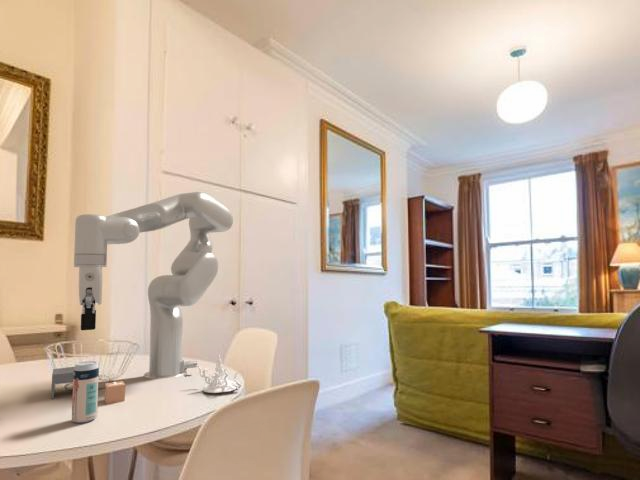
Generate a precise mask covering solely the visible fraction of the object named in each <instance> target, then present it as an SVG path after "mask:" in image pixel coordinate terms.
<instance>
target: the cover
mask: <svg viewBox="0 0 640 480" xmlns="http://www.w3.org/2000/svg"><path fill="white" fill-rule="evenodd" d="M74 368H75V366H70V367H69V366H67V367H60V368H54V369H52V374H51V394H50V399H51V400H53V399H55V398H54V397H55V391H56V390H55V389H56V385H60V384H61V385H62V384H69V383H73V373H74Z"/></svg>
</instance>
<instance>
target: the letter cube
mask: <svg viewBox="0 0 640 480" xmlns="http://www.w3.org/2000/svg"><path fill="white" fill-rule="evenodd" d="M104 388H105V389H104V401H105V403H106V404H107V405H108V404H109V405H110V404H114V403H120V402H121V403H122V402H126V401H125V400H126V399H125V398H126V396H125V395H126V383H125V382H124V380H120V381H113V382H106V383H104Z"/></svg>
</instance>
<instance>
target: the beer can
mask: <svg viewBox="0 0 640 480" xmlns="http://www.w3.org/2000/svg"><path fill="white" fill-rule="evenodd" d="M74 367H75V368H74V373H73V382H72V401H71V421H72V422H74V423H76V424H86V423H88V422H89V423H90V422H92V421H94V419H96V418H97V417H98V407H99V405H98V402H99V399H98V398H99V375H100V372H99V371H100V370H99V369H100V366H99V365H98V362H97V361H89V360H88V361H82V362H78V363H76V364H75V365H74Z"/></svg>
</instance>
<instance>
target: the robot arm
mask: <svg viewBox="0 0 640 480" xmlns="http://www.w3.org/2000/svg"><path fill="white" fill-rule="evenodd" d="M233 217H234V216H233V214H232V212H231V211H230V210H229V208H227V207H226V206H225V205H223V204H222V203H221V202H219V201H217V200H216V199H215V198H214V197H211V196H210V195H208V194H207V193H204V192H201V191H194V192H193V191H192V192H186V193H178V194H174V195H172V196H169V197H166V198H163V199H160V200H157V201H154V202H151V203H148V204H144V205H141V206H138V207H134V208H130V209H127V210H124V211H120V212H117V213H114V214H110V215H107V216H104V215H101V214H91V213H90V214H87V213H85V214H79V215H78V216H76V218H75V222H74V223H75V225H74V248H73V249H74V251H73V252H74V253H73V267H74V268H78V299H79V300H78V301H79V305H80V306H82V311H81V314H80V330H81V331H93V330H95V329H96V325H97V324H96V323H97V321H96V320H97V313H96V312H97V310H96V303H97V304H98V306H101V304H102V301H103V300H102V298H103V297H102V296H103V268H107V267H108V266H107V264H108V262H107V261H108V260H107V259H108V245H122V244H123V245H125V244H129V243H132V242H134V241H135V240H137V238H138V237H139V235H140V234H141V233H148V232H154V231H158V230H161V229H164V228H165V229H166V228H167V227H170V226H172V225H174V224H177V223H180V222H181V221H184V220H188V226H189V233H190V238H189V241H188V243H186V245H185V246H184V248H183V249H182V250H181V252H180V253H179V254H178V255H177V256H176V257H175V259H174V260H173V261H172V263H171V266H170V271H171V274H165V275H164V274H162V275H160V276H156V277H154V278H153V279H152V280H151V282H150V283H149V285H148V288H147V297H148V298H147V299H148V302H149V311H150V323H149V324H150V331H149V361H148V362H149V365H148V366H149V369H148V371H147V372H145V373H144V374H143V378H144V377H145V378H147V379H169V378H175V377H179V376H183V377H186V376H187V374H188V373H187V369H193V368H194V369H195V368H198V367H197V366H196V365H198V362H197V360H196V361H191V360H189V361H185V360H183V359H182V358H183V322H184V320H183V314H182V311H181V308H180V307H191V306H193V305H195V304H197V303H198V302H199V301H200V299H202V297H203V296H204V295H205V293H206V291H207V290H208V289H209V288H210V286H211V284H212V282H213V281H214V280H215V278H216V276H217V274H218V271H219V261H218V259H217V256H215V254H213V253H212V252H213V247H214V246H213V243H212V240H211V237H210V234H211V233H224V232H227V231H229V230H230V229H231V228H232V227H233V224H234V218H233Z"/></svg>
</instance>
